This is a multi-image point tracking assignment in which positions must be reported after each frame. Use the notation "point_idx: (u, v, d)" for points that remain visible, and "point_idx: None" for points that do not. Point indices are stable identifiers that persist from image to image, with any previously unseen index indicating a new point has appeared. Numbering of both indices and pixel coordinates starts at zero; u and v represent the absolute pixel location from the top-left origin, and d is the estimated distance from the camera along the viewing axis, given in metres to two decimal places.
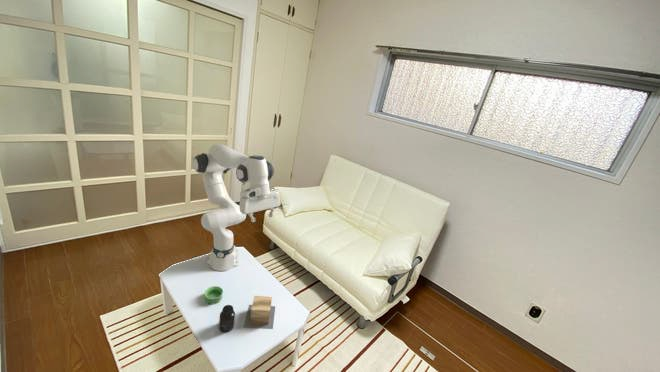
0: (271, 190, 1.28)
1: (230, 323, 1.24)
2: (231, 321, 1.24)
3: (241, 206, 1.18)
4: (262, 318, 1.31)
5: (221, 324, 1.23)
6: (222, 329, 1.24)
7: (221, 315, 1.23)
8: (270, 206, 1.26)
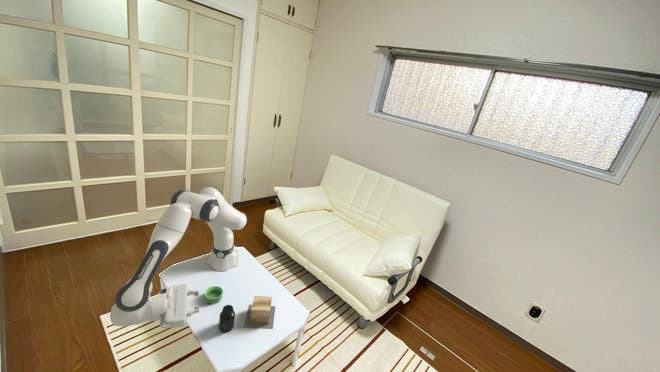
0: None
1: (230, 323, 1.24)
2: (231, 321, 1.24)
3: None
4: (262, 318, 1.31)
5: (221, 324, 1.23)
6: (222, 329, 1.24)
7: (221, 315, 1.23)
8: None
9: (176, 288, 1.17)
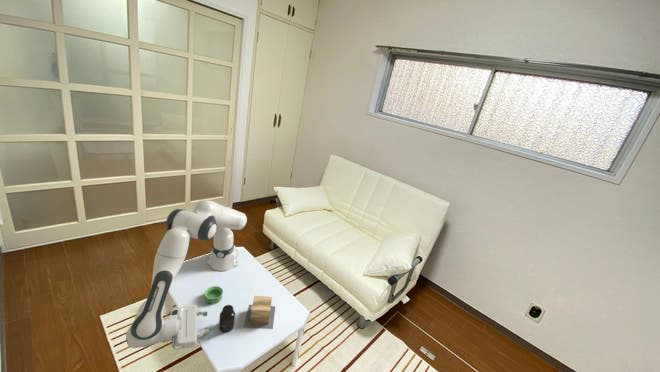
0: None
1: (230, 323, 1.24)
2: (231, 321, 1.24)
3: None
4: (262, 318, 1.31)
5: (221, 324, 1.23)
6: (222, 329, 1.24)
7: (221, 315, 1.23)
8: None
9: (186, 309, 1.24)
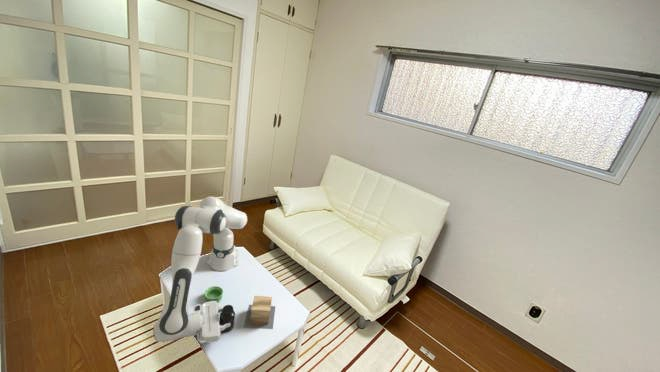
0: None
1: (230, 323, 1.24)
2: (231, 321, 1.24)
3: None
4: (262, 318, 1.31)
5: (221, 324, 1.23)
6: None
7: (221, 315, 1.23)
8: None
9: (208, 305, 1.28)
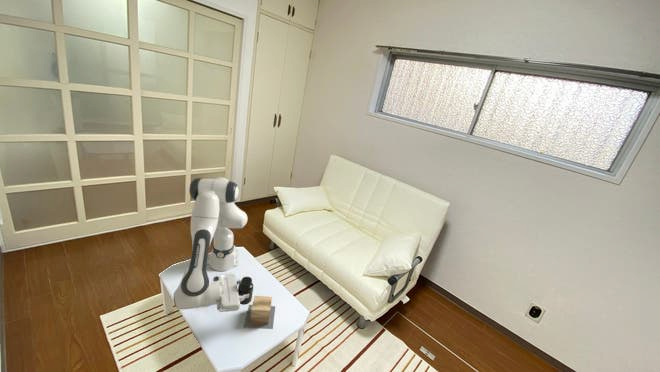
0: None
1: (249, 295, 1.23)
2: (250, 293, 1.23)
3: None
4: (262, 318, 1.31)
5: (240, 295, 1.22)
6: (240, 301, 1.23)
7: (240, 286, 1.22)
8: None
9: (226, 276, 1.26)
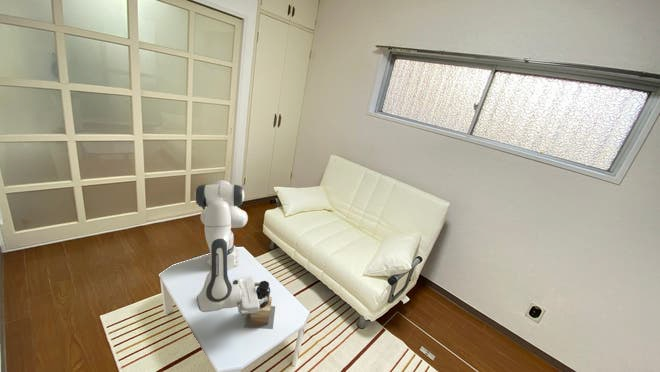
0: None
1: None
2: (267, 296, 1.29)
3: None
4: (262, 318, 1.31)
5: None
6: None
7: (258, 290, 1.28)
8: None
9: (244, 280, 1.33)
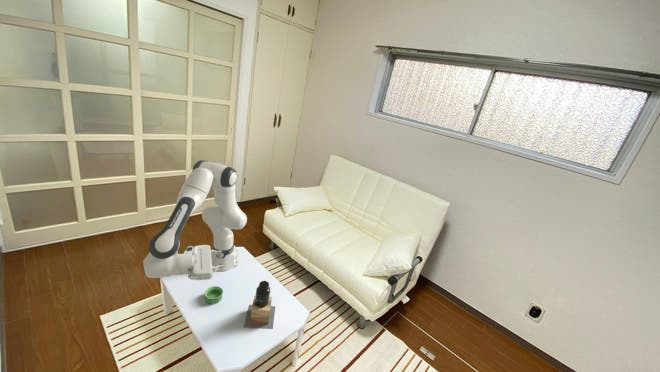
0: None
1: (266, 298, 1.29)
2: (267, 296, 1.29)
3: None
4: (262, 318, 1.31)
5: (258, 299, 1.29)
6: (258, 304, 1.30)
7: (258, 290, 1.28)
8: None
9: (201, 247, 1.23)
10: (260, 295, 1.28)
